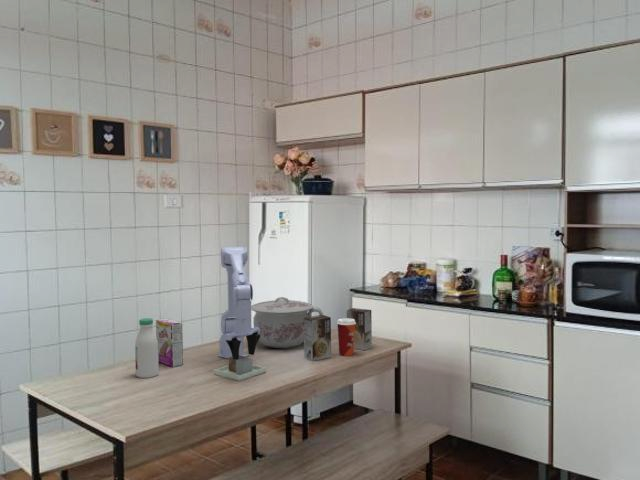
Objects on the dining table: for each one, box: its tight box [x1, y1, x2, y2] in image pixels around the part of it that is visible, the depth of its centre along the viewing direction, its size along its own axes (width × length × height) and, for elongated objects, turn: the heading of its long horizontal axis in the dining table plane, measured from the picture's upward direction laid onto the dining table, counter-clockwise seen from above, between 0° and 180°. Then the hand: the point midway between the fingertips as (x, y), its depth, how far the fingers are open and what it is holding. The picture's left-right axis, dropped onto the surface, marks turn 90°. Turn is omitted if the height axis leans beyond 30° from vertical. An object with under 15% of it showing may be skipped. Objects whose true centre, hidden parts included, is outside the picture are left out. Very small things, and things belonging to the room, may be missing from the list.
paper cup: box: [336, 317, 356, 357], centre depth 227 cm, size 8×8×14 cm
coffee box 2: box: [346, 307, 373, 351], centre depth 238 cm, size 9×6×16 cm
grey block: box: [236, 357, 253, 375], centre depth 200 cm, size 4×4×5 cm
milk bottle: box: [134, 317, 160, 379], centre depth 200 cm, size 8×8×20 cm
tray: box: [213, 364, 267, 382], centre depth 202 cm, size 13×13×2 cm
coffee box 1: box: [303, 314, 332, 362], centre depth 222 cm, size 9×6×16 cm
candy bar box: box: [155, 318, 184, 368], centre depth 215 cm, size 11×5×16 cm, turn 47°
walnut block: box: [228, 355, 246, 373], centre depth 204 cm, size 4×4×5 cm
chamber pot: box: [251, 296, 324, 349], centre depth 243 cm, size 28×28×21 cm
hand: (243, 356), depth 200 cm, fingers open, 7 cm apart
